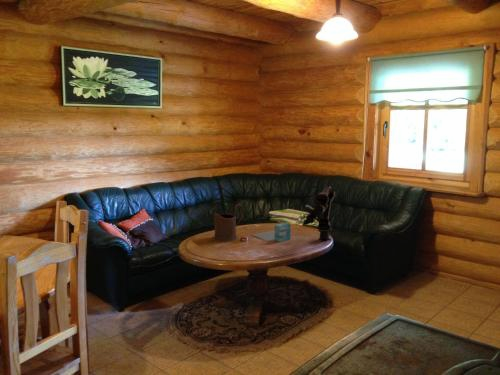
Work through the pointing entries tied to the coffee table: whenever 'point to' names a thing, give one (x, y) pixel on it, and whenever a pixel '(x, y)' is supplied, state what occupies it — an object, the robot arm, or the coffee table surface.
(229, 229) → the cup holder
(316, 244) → the coffee table surface
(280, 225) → the data package
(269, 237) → the slate rubber mat
